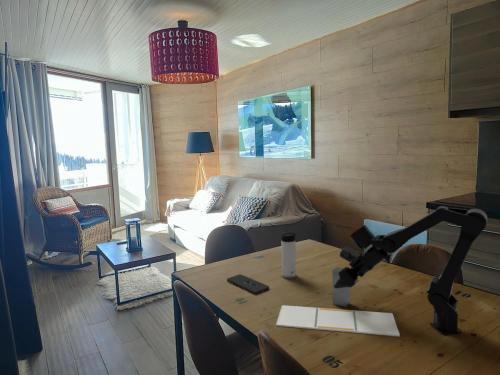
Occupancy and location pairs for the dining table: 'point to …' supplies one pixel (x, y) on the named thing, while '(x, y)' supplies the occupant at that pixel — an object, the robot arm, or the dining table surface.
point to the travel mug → (288, 255)
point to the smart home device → (248, 284)
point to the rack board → (338, 320)
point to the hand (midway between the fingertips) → (339, 282)
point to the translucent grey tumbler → (340, 290)
